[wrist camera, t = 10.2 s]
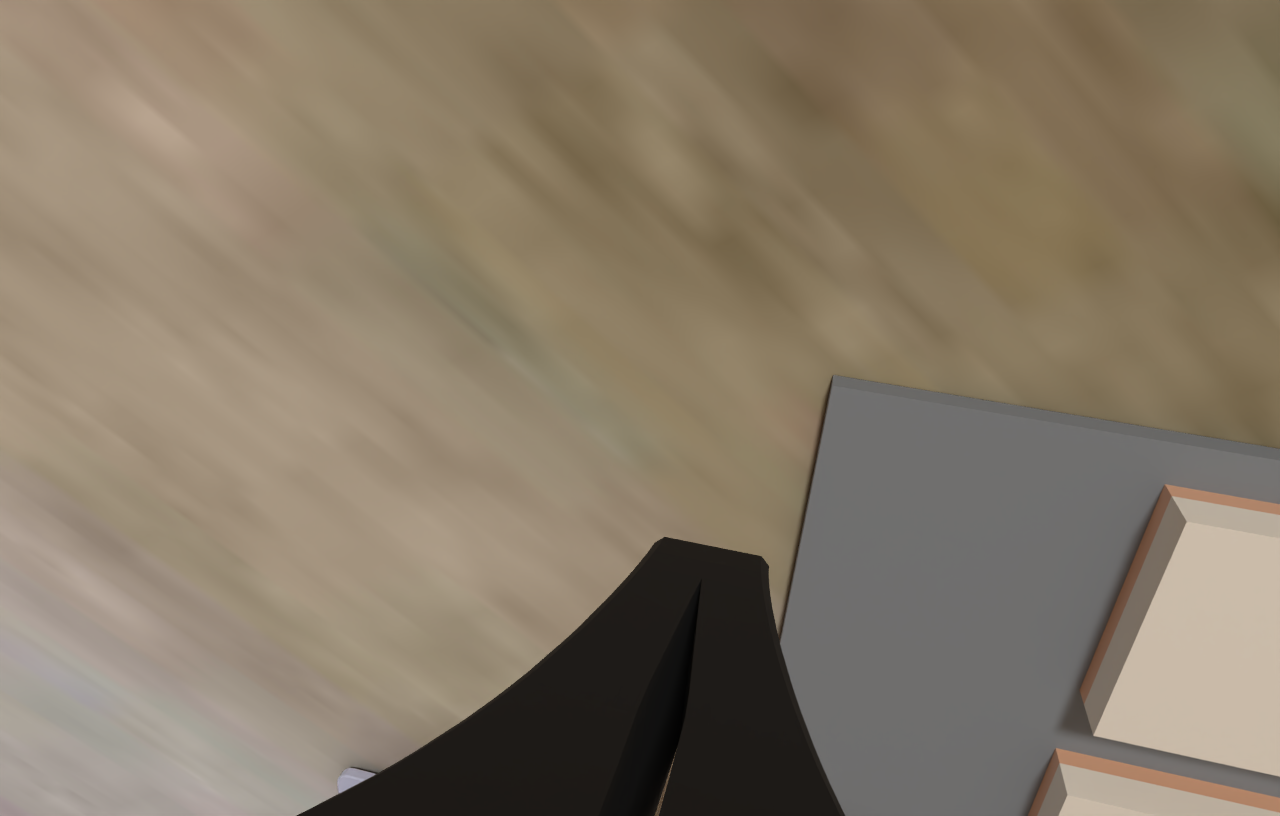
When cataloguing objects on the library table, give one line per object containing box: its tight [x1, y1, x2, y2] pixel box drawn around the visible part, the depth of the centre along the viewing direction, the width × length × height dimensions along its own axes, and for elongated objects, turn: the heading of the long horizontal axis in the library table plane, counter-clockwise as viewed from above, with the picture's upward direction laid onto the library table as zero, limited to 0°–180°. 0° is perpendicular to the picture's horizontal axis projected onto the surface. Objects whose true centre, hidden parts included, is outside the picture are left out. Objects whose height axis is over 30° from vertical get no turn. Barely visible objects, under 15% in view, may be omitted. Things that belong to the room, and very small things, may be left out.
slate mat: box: [780, 375, 1280, 816], centre depth 23 cm, size 16×15×1 cm
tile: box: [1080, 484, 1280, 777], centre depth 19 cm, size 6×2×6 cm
